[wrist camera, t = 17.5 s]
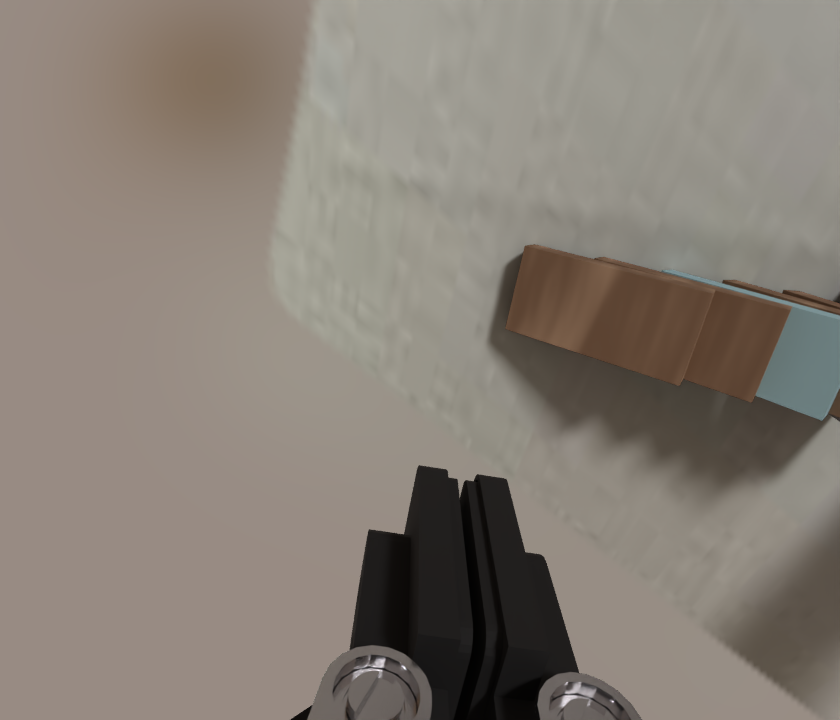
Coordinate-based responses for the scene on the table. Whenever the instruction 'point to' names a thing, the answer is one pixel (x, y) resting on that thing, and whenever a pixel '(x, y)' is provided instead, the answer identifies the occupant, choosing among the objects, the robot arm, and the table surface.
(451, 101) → the table surface
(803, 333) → the domino
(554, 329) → the domino
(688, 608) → the table surface
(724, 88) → the table surface
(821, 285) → the table surface
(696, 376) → the domino
